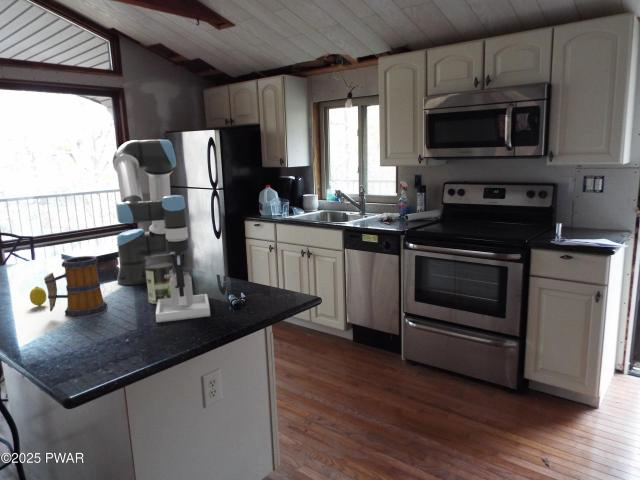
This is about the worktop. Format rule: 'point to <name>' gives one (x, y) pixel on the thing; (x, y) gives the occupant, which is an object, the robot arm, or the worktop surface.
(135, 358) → the worktop surface
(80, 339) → the worktop surface
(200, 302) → the tray
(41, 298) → the lemon
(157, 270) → the coffee can
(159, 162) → the robot arm
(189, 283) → the can
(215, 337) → the worktop surface
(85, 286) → the mug
